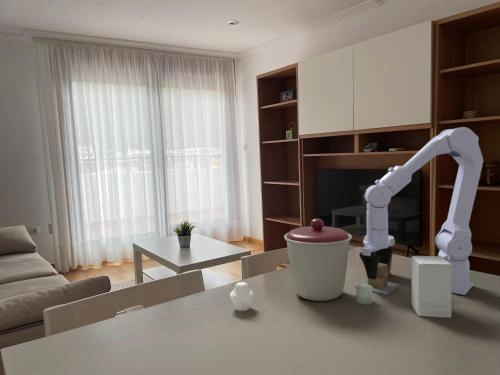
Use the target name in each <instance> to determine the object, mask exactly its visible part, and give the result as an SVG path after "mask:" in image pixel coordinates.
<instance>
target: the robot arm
mask: <svg viewBox="0 0 500 375" xmlns="http://www.w3.org/2000/svg"><path fill="white" fill-rule="evenodd" d="M479 139H480V138H479V136H478V135H477V134H476V133H475V132H474V131H473V130H472V129H470V128H469V127H466V126H461V127H456V128H449V129H444V130H442V131H441V132H440V133H439V134H438V135H436V136H434V137H433V138H431V140H429V141H428V142H427V143H426V144H425V145H424V146H423V147H422V148H421V149H420V150H418V151H417V152H416V153H415V154H414V155H413V156H412V157H411V158H410V159H409V160H408V161H407V162H405V163H404V164H403V165H395V166H394V167H389V168H388V169H387V173H386V174H384V176H382V178H380V179H376V180H375V181H374V183H375V184H373V185H370V186H369V187H367V189H366V190H365V193H364V196H363V197H364V199H365V201H366V235H367V241H363V242H362V245H364V247H362V252H359V254H358V255H359V258H360V260H361V262H362V264H363V266H364V270H365V273H366V277H367V279H368V278H369V279H374V280H375V279H376V276H377V268H378V263H382V264H387V270H388V266H389V262H390V259H391V256H392V257H393V255H394V252H395V246H394V247H389V246H391V239H388V235H389V212H388V205H389V204H390V202H391V198H392V197H394V196H395V195H396V194H398V193H399V192H401V190H402V189H404V188H405V187H406V186H407V185H408V184H410V183H411V181H412V176H413V174H414V173H415V172H417V171H418V170H420V169H421V168H422V167H423V166H424V165H426V164H427V163H429V161H431V160H432V159H433V158H435V157H436V156H439V155H440V156H441V155H444V154H448V155H450V156H451V157H452V158H453V159H454V160H455V161H456V163H457V164H458V170H457V174H456V178H455V182H454V187H453V192H452V196H451V201H450V205H449V210H448V213H447V219H446V220H445V221H444V222H443V224H442V225H441V227H440V228H441V229H440V230H439V231H438V233H437V234H436V236H435V241H434V242H435V245H436V247H437V248H438V250H439V252H438V254H437V256H442V257H443V258H444V259H446V260H447V261H448V262H449V263H450V264H452V279H451V294H458V295H462V296H463V295H467V293H468V292H469V291H470V290H471V289H472V287H473V286H474V283H473V282H471V283H470V266H471V265H470V260H469V256H470V255H471V254H472V251H473V245H472V231H471V229H470V221H471V215H472V211H473V208H474V202H475V198H476V194H477V190H478V185H479V182H480V177H481V174H482V173H481V172H482V168H483V164H484V158H483V154H482V150H481V147H480V144H479ZM374 252H376V255H375V254H374ZM392 254H393V255H392Z"/></svg>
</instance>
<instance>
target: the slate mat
mask: <svg viewBox="0 0 500 375" xmlns="http://www.w3.org/2000/svg"><path fill="white" fill-rule="evenodd" d="M360 284H368V278H367V279H366V280H364V281H363V282H361V283H360ZM400 286H401V285H400V284H399V283H394V282H390V281H387V286H385V287H384V288H382V289H380V288H375V287H372V294H378V295H381V294H382V296H385V297H387V296H389V295H390V294H391V293H392V292H394V291H395V290H396V289H398V288H399V287H400Z"/></svg>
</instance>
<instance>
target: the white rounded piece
mask: <svg viewBox="0 0 500 375" xmlns="http://www.w3.org/2000/svg"><path fill="white" fill-rule="evenodd" d="M254 297H255V294H254V292H253V291H252V290H251V288H250V287H249V284H248V283H247V282H245V281H240V282H237V283H236V284H235V285H234V288H233V290H232V291H231V292H230V294H229V299H230V302H231V303H232V305H233V306H234V308H235V309H236V311H237V312H245V311H248V310H249V309H250V308H251V305H252V303H253V300H254Z"/></svg>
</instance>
